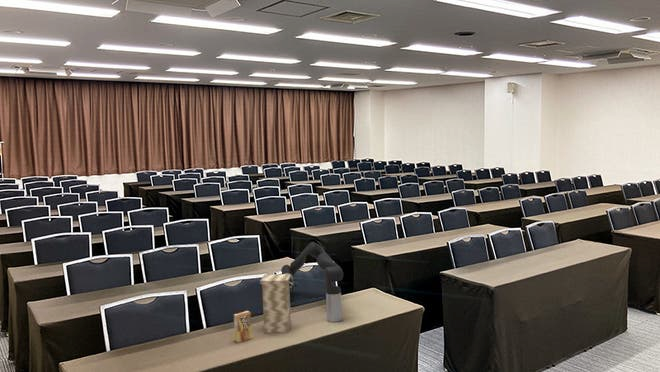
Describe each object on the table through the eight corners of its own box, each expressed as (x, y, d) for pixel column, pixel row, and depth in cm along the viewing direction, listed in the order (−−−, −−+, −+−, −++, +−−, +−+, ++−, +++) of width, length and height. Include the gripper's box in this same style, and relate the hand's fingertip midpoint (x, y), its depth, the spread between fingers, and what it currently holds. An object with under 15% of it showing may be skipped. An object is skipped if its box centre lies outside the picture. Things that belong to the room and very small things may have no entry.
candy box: (248, 336, 290) (247, 310, 288) (252, 338, 286) (251, 312, 285) (234, 340, 284) (233, 314, 283) (238, 342, 281) (237, 316, 280)
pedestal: (293, 324, 307) (290, 274, 304) (289, 332, 293) (287, 280, 291) (267, 324, 308) (264, 274, 306) (262, 333, 294) (259, 280, 292)
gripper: (276, 276, 349) (274, 285, 333) (296, 273, 349) (295, 282, 333) (277, 286, 350) (275, 296, 334) (298, 283, 350) (297, 293, 334)
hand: (285, 289), depth 334 cm, fingers open, 8 cm apart
